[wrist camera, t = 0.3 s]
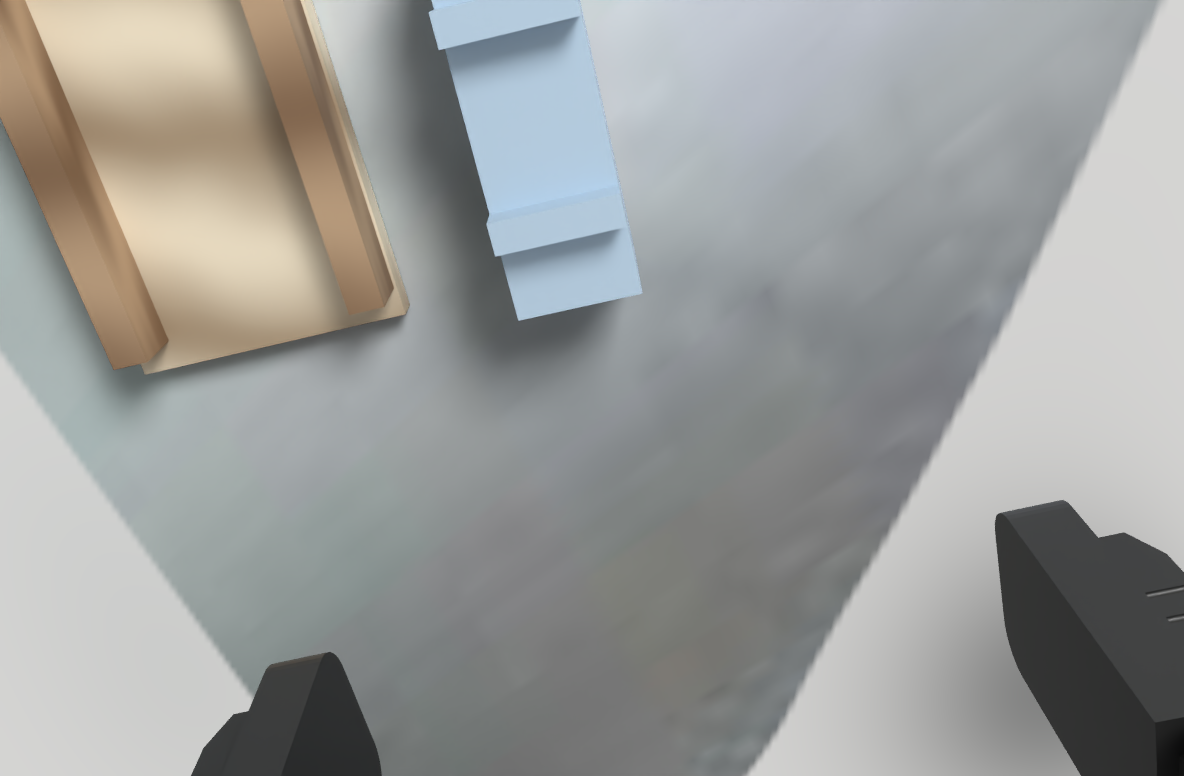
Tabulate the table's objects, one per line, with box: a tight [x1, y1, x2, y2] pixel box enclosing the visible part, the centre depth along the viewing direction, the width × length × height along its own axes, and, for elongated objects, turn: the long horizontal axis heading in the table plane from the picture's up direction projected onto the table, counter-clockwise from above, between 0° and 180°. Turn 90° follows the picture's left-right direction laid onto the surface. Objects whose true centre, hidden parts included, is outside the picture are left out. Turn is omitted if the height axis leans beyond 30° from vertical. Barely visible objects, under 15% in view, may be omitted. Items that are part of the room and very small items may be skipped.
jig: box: [0, 0, 410, 375], centre depth 34 cm, size 16×10×3 cm, turn 13°
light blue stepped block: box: [428, 0, 642, 321], centre depth 32 cm, size 14×4×6 cm, turn 13°
